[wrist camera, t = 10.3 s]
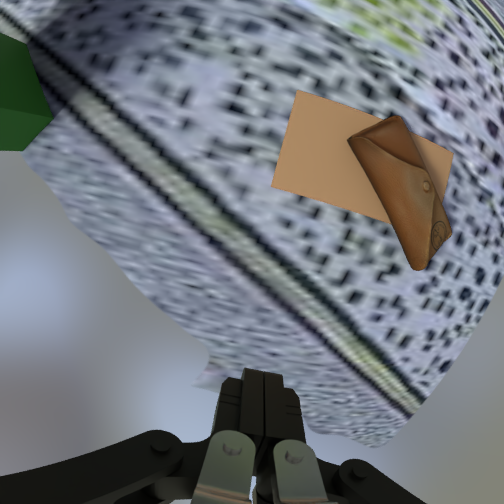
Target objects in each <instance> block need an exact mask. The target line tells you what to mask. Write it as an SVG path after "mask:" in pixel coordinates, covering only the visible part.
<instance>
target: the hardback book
mask: <svg viewBox="0 0 504 504" xmlns="http://www.w3.org/2000/svg"><path fill="white" fill-rule="evenodd" d="M53 119H54V118H53V116H52V113H51V111H50V108H49V106H48V103H47V101H46V98H45V96H44V93H43V91H42V88H41V85H40V83H39V80H38V77H37V74H36V72H35V69H34V66H33V63H32V60H31V57H30V54H29V51H28V48H27V45H26V44H25V43H23V42H20V41H18V40H16V39H14V38H11V37H9V36H7V35H5V34H2V33H0V151H23V150H24V149H25V148H26V147H27V146H28V145H29V144H30V142H31V141H32V140H33V139H34V138H35V137H36V136H37V135H38V134H39V133H40V132H41V131H42V130H43V129H44V128H45V127H46V126H47V125H48V124H49V123H50V122H51V121H52V120H53Z"/></svg>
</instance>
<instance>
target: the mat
mask: <svg viewBox="0 0 504 504" xmlns="http://www.w3.org/2000/svg"><path fill="white" fill-rule="evenodd" d="M380 121H382V119H380V118H377V117H375V116H372V115H370V114H367V113H365V112H362V111H359V110H357V109H354V108H351V107H349V106H346V105H343V104H340V103H337V102H334V101H331V100H328V99H325V98H322V97H319V96H316V95H313V94H309V93H306V92H303V91H299V90H297V93H296V97H295V100H294V104H293V108H292V111H291V115H290V119H289V122H288V126H287V130H286V133H285V137H284V141H283V144H282V148H281V151H280V155H279V159H278V162H277V166H276V170H275V173H274V177H273V181H272V184H271V187H273V188H277V189H280V190H284V191H288V192H291V193H295V194H298V195H301V196H305V197H308V198H312V199H315V200H318V201H322V202H325V203H328V204H331V205H334V206H338V207H341V208H344V209H347V210H350V211H353V212H356V213H359V214H363V215H366V216H369V217H372V218H375V219H377V220H380V221H383V222H386V223H389V224H391V222H390V220H389V218H388V215H387V213H386V211H385V209H384V208H383V206H382V204H381V202H380V200H379V198H378V196H377V194H376V192H375V191H374V189H373V187H372V185H371V183H370V181H369V179H368V177H367V176H366V174H365V172H364V170H363V168H362V167H361V165H360V163H359V162H358V160H357V158H356V157H355V155H354V153H353V152H352V150H351V148H350V146H349V144H348V142H347V139H348V138H349V137H351V136H352V135H354V134H356V133H358V132H360V131H362V130H364V129H366V128H368V127H370V126H372V125H375V124H377V123H378V122H380ZM409 132H410V131H409ZM410 134H411V137H412V139H413V140H414V143H415V145H416V147H417V149H418V151H419V153H420V155H421V157H422V160H423V162H424V164H425V166H426V168H427V170H428V173H429V175H430V177H431V180H432V182H433V184H434V186H435V188H436V191H437V193H438V195H439V198H440V200H441V202H443V198H444V194H445V190H446V186H447V182H448V177H449V173H450V168H451V163H452V158H453V153H452V152H450V151H448V150H446V149H444V148H443V147H441V146H439V145H437V144H435V143H433V142H431V141H429V140H427V139H425V138H423V137H420V136H418V135H416V134H414V133H412V132H410Z"/></svg>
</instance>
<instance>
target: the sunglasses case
mask: <svg viewBox="0 0 504 504" xmlns="http://www.w3.org/2000/svg"><path fill="white" fill-rule="evenodd" d="M347 142H348V144H349V146H350V148H351V150H352V152H353V153H354V155H355V157H356V158H357V160H358V162H359V163H360V165H361V167H362V168H363V170H364V172H365V174H366V176H367V177H368V179H369V181H370V183H371V185H372V187H373V189H374V191H375V192H376V194H377V196H378V198H379V200H380V202H381V204H382V206H383V208H384V209H385V211H386V213H387V215H388V218H389V220H390V222H391V224H392V226H393V228H394V230H395V232H396V234H397V237H398V239H399V241H400V243H401V246H402V248H403V251H404V253H405V256H406V258H407V260H408V262H409V264H410V266H411V268H412V269H413V270H416V271H420V270H423V269H425V267H426V266H427V265H428V262H429V261H430V259H431V258H432V257H433V256H434V254H435V253H436V252H437V250H438V249H439V248H440V246H441V245H442V244H443V242H444V241H446V240H447V239H448V238H449V237H451V235H452V230H451V226H450V223H449V220H448V218H447V215H446V212H445V210H444V207H443V205H442V202H441V200H440V198H439V195H438V193H437V191H436V188H435V186H434V184H433V182H432V180H431V177H430V175H429V173H428V170H427V168H426V166H425V164H424V162H423V160H422V157H421V155H420V153H419V151H418V149H417V147H416V145H415V143H414V140H413V139H412V137H411V134H410V132H409V130H408V128H407V127H406V125H405V123H404V121H403V120H402V118H401V117H400V116H391V117H389V118H387V119H384V120H382V121H380V122H378V123H377V124H375V125H372V126H370V127H368V128H366V129H364V130H362V131H360V132H358V133H356V134H354V135H352V136H351V137H349V138H348V139H347Z"/></svg>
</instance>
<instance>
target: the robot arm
mask: <svg viewBox="0 0 504 504" xmlns="http://www.w3.org/2000/svg"><path fill="white" fill-rule="evenodd" d="M300 407H301V406H300V400H299V397H298V396H297V394H296V393H295V391H294V390H293V389H290V388H284V384H283V376H282V375H281V374H275V373H270V372H265V371H264V372H263V371H259V370H254V369H249V368H244V370H243V373H242V377H241V379H236V378H231V377H228V378H227V379H226V380H225V381H224V382H223V383H222V386H221V390H220V394H219V398H218V402H217V406H216V410H215V415H214V421H213V426H212V431H211V435H210V437H208V438H207V439H205V440H203V441H200V442H194V443H182V442H181V440H180V439H179V438H178V437H177V436H175V435H173V434H172V433H170V432H167V431H163V430H150V431H147V432H144V433H142V434H139V435H137V436H134V437H132V438H129V439H126V440H124V441H122V442H118V443H116V444H113V445H110V446H107V447H105V448H102V449H99V450H96V451H93V452H91V453H87V454H84V455H81V456H78V457H75V458H71V459H68V460H65V461H61V462H58V463H55V464H51V465H47V466H43V467H40V468H36V469H32V470H27V471H23V472H19V473H14V474H10V475H5V476H0V504H169V503H171V502H173V501H174V500H178V499H179V500H180V499H192V500H191V504H252V501H251V500H249V494H250V487H251V479H252V476H256V485H255V487H254V489H253V492H252V498H253V504H426V503H425V502H423V501H422V500H420V499H419V498H417V497H416V496H414V495H413V494H411V493H410V492H408V491H407V490H405V489H404V488H403V487H401V486H400V485H398V484H397V483H395V482H394V481H393V480H391V479H390V478H388V477H387V476H385V475H384V474H383V473H381V472H380V471H379V470H378V469H376V468H375V467H373V466H372V465H371V464H369V463H368V462H366V461H363V460H360V459H349V460H347V461H345V462H343V463H342V464H341V466H339V465H336V464H332V463H329V462H325V461H323V460H320V459H318V458H317V457H316V455H315V453H314V451H313V449H311V447H309V446H308V445H307V444H306V439H305V432H304V426H303V419H302V416H301V415H302V413H301V409H300Z"/></svg>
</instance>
